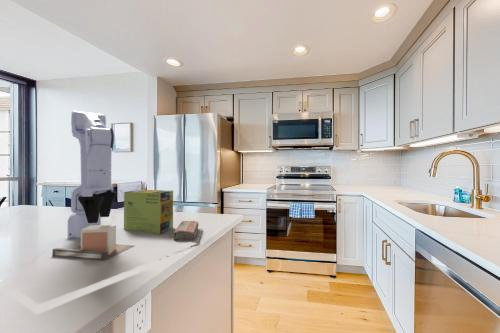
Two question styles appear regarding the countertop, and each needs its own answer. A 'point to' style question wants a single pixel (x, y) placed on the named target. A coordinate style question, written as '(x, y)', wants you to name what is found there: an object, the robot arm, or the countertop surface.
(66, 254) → the shelf
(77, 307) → the countertop surface
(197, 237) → the packaged product
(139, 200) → the protein box
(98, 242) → the carton
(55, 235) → the countertop surface
